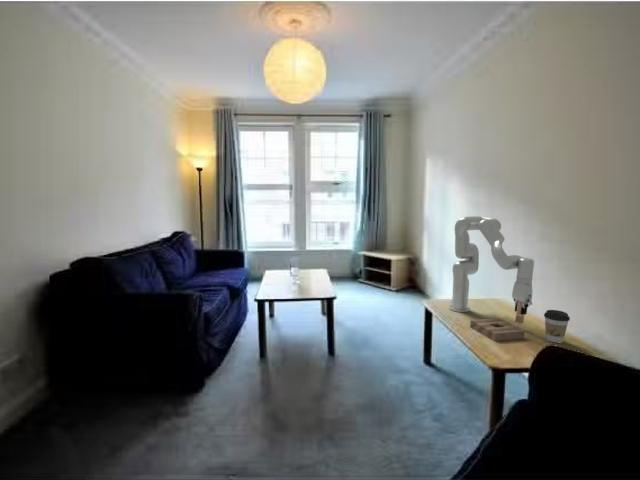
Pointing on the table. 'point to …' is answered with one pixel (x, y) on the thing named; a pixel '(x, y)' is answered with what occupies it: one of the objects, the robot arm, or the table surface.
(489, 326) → the board
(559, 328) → the coffee cup
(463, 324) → the table surface
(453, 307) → the robot arm
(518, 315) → the peg
